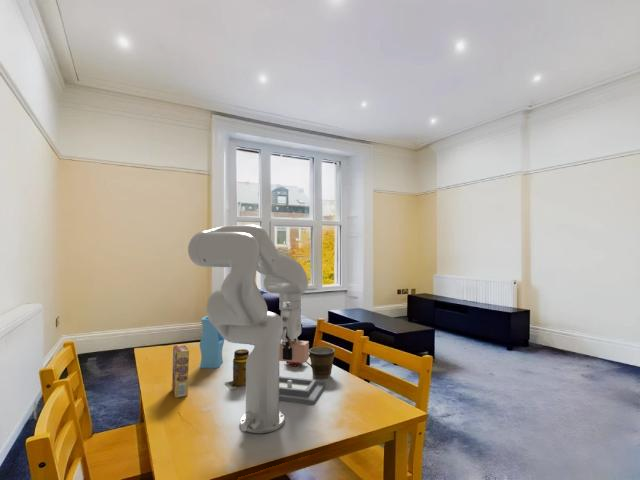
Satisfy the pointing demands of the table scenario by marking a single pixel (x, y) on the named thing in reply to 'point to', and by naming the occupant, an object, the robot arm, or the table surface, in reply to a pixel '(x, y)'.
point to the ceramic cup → (321, 361)
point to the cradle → (300, 389)
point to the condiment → (239, 369)
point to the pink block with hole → (297, 351)
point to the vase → (210, 345)
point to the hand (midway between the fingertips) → (290, 356)
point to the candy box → (180, 371)
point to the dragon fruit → (293, 363)
